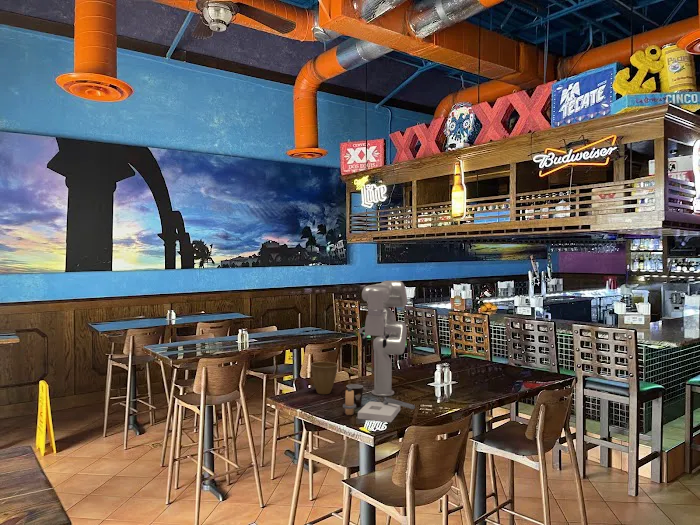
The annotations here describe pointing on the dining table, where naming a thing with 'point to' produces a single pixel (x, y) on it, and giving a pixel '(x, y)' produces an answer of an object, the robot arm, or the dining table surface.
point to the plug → (349, 402)
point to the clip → (398, 403)
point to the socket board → (379, 411)
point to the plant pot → (324, 376)
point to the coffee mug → (355, 393)
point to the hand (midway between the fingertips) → (374, 346)
